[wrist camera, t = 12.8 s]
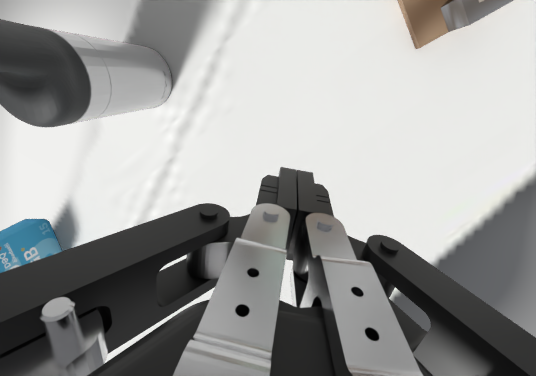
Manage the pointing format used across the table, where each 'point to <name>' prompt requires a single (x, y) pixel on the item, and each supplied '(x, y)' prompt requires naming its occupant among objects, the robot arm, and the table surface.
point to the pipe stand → (443, 16)
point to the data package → (26, 243)
